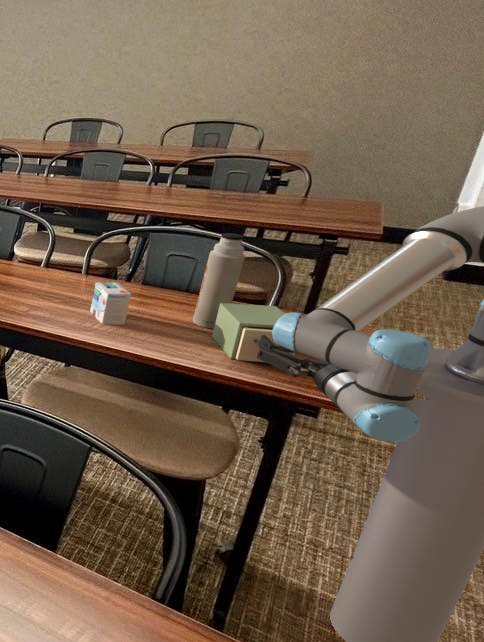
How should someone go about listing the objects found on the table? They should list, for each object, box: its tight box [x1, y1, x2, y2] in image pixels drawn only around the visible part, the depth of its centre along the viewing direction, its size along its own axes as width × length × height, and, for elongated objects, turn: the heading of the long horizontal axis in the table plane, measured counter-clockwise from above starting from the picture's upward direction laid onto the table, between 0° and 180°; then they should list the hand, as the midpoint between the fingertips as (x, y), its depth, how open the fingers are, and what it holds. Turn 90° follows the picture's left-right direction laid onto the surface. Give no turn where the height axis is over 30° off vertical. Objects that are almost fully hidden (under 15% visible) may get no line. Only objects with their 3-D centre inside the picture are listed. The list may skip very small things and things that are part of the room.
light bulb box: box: [89, 281, 132, 326], centre depth 181 cm, size 11×7×11 cm, turn 169°
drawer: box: [235, 326, 297, 363], centre depth 152 cm, size 18×11×9 cm, turn 159°
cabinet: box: [211, 303, 286, 360], centre depth 156 cm, size 15×13×11 cm
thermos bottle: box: [192, 232, 246, 330], centre depth 169 cm, size 8×8×28 cm
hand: (298, 343), depth 134 cm, fingers open, 13 cm apart
